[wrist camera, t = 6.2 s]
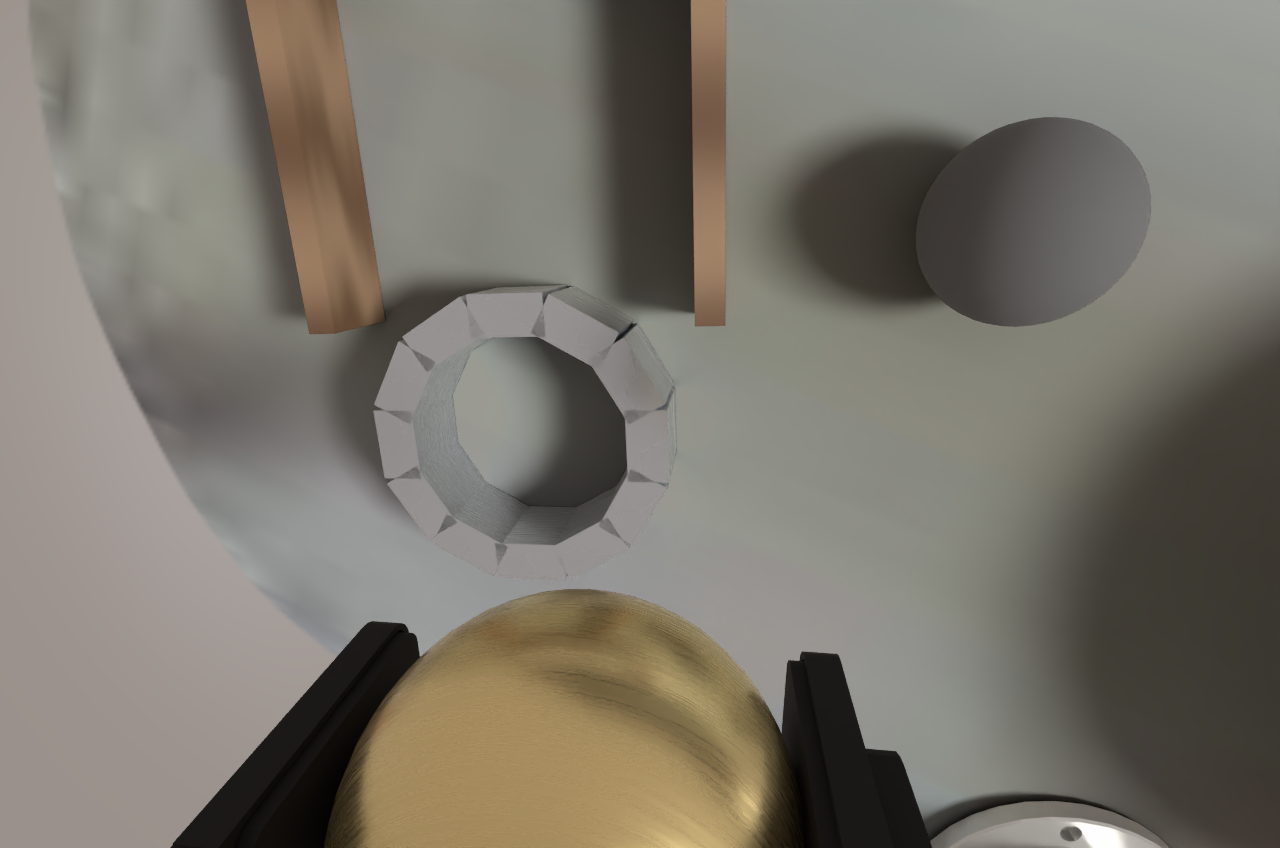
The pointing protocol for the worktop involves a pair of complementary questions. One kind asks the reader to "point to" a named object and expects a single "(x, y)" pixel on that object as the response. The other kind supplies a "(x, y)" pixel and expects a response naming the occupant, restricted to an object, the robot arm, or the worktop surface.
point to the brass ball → (571, 739)
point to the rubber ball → (1033, 221)
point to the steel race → (452, 486)
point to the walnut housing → (333, 179)
